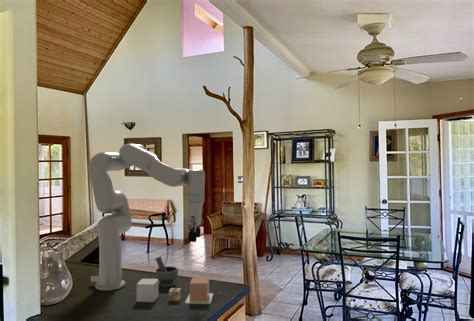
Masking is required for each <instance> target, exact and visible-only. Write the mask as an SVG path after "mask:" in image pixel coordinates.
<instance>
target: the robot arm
mask: <svg viewBox="0 0 474 321" xmlns="http://www.w3.org/2000/svg"><path fill="white" fill-rule="evenodd" d="M89 160H90V161H89V162H88V167H87V169H88V175H89V178H90V179H89V180H90V184H91V186H92V192H93V197H94V202H95V206H96V209H97V211H98V212H100V213H103V214H104V213H105V214H107V213H110V214H109V215H105V216H104V217H102V218H101V219H100V220H99V221H98V223H97V227H96V228H97V230H96V231H97V236H98V244H99V248H98V250H99V258H98V260H99V261H98V262H99V264H98V265H99V266H98V268H99V269H98V271H99V272H98V274H99V275H98V276H90V282H91V283H95V289H96V290H97V291H105V292H107V291H115V290H119V289H122V288H124V287H125V286H126V281H125V280H123V279H122V275H123V274H122V271H123V268H122V266H123V264H122V263H123V261H122V260H123V258H122V257H123V250H122V249H123V244H122V241H121V240H122V239H121V237H120V235H122V234H125V233H127V232H128V231H129V230H130V229H131V227H132V225H133V224H132V222H133V221H132V220H133V219H132V216H131V215H132V214H131V211H130V205H129V202H128V199H127V196H126V194H125V193H124V192H122V191H121V190H114V187H113V186H114V185H113V182H112V179H111V177H110V175H109V174H108V172H110V171H111V172H113V171H114V172H115V171H116V172H117V171H119V172H120V171H123V170H125V169H128V168H131V167H134V168H137V169H139V170H141V171H144V173H145V172H146V173H147V174H148V175H149V177H151V178H153V179H154V180H156V181H157V182H159V183H162V184H164V185H165V186H168V187H182V186H186V203H188V204H187V211H186V227H188V238H187V240H188V242H189V243H196V242H197V238H200V237H201V223H202V219H203V218H202V217H203V215H202V214H203V212H202V211H203V205H202V204H204V203H205V189H206V188H205V187H206V186H205V184H206V173H205V170H204V169H195V168H191V169H188V168H183V167H182V168H181V167H180V168H178V167H177V168H176V167H175V168H173V167H171V166H170V165H167V164H165V163H163V162H161V161H160V160H159V158H158V155H157V154H155V153H153V152H150V151H148V150H147V149H146V147H145V146H144V145H142V144H138V143H125V144H123V145H122V146H120V147H119V152H118V151H117V152H114V151H113V152H111V151H101V152H99V153H95V155H93V156H92V157H91V159H89Z"/></svg>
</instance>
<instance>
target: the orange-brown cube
mask: <svg viewBox="0 0 474 321" xmlns="http://www.w3.org/2000/svg"><path fill="white" fill-rule="evenodd" d="M209 293H210V278H209V277H192V278H191V280H190V282H189V294H190V301H207V300H208V297H209Z"/></svg>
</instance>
